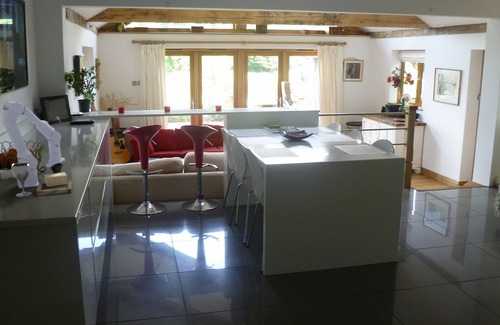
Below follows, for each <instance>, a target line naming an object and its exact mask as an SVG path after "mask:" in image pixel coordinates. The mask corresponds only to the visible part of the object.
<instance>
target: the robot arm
mask: <svg viewBox="0 0 500 325" xmlns="http://www.w3.org/2000/svg"><path fill="white" fill-rule="evenodd" d="M1 109H2V124H3V126H4V128H5V129H6V131H7V134H8V135H9V136H8V137H9V138H10V140H11V143H12V145H13V147H14V149H15V150H16V152H17V154H16V157H17V163H29V165H30V173H29V176H28V177H27V179H26V180H25V182H24V189H25V188H33V187H38V185H39V184H40V183H39V180H38V172H37V166H38V164H39V162H38V161H39V160H38V159H37V158H36V157H35V156H34V155H33V153H32V152H31V151H30V150H29V148H28V146H27V144H26V142H25V140H24V137H23V136H22V133H21V131H20V129H19V127H18V125H17V123H16V122H17V120H18V118H19V117H20V116H24V117H25V118H26V119H27V120H29V121H30V122H31V123H33V124H34V125H35V129H36V130H37V131H39V133H41V134H42V135H43V136H44V138H45V140H47V143H48V144H47V145H48V152H49V154H48V155H49V159H48V162H47V163H46V165H45V166H46V168H50V169H51V171H52V174H55V173H62V168H63V166H64V163H62V162H66V158H65V157H62V152H61V142H60V141H61V139H62V135H61V133H60V132H59V131H56V130H55V128H54V127H52V126H51V125H50V124H49V121H46V120H41V119H40V118H39V117H38V116H37V115H35V114H34V113H33V112H32V111H31V109H30V108H28V107H27V106H26V105H24V103H22V102H21V101H13V100H7V101H6V102H4V104H3V105H2V108H1ZM16 183H17V185H18V188H19V189H22V185H21V183H20V181H19V180H17V181H16Z"/></svg>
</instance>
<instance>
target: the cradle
mask: <svg viewBox="0 0 500 325" xmlns="http://www.w3.org/2000/svg"><path fill="white" fill-rule="evenodd" d="M67 186H68V187H65V188H52V189H43V183H39V185H38V186H37V188H36V189H35V195H36V196H47V195H48V196H49V195H57V194H59V193H60V194H70V193H71V194H72V191H73V180H69V181H68V184H67Z"/></svg>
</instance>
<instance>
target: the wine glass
mask: <svg viewBox="0 0 500 325" xmlns="http://www.w3.org/2000/svg"><path fill="white" fill-rule="evenodd" d="M11 171H12V174H13V175H12V176H13V177H14V178H15V179H16V180H17V181H18V180H19V181H20V183H21V185H22V188H21V189H22V192H19V193H17V194H15V196H16V197H18V198H19V197H21V198H22V197H23V198H24V197H28V196H31V195H32V194H33V193H32V192H31V191H29V192H28V191H25V188H24V182H25V180H26V179H27V177H28V176H29V173H30V165H29V163H18V162H17V163H13V164H11Z"/></svg>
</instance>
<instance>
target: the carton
mask: <svg viewBox="0 0 500 325" xmlns="http://www.w3.org/2000/svg"><path fill="white" fill-rule="evenodd" d="M44 182H45V185H46V187H47V188H48V187H55V186H63V185H69V181H68V175H67V174H66V172H65V171H64V172H60V173H55V174H54V173H49V174H44Z"/></svg>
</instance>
